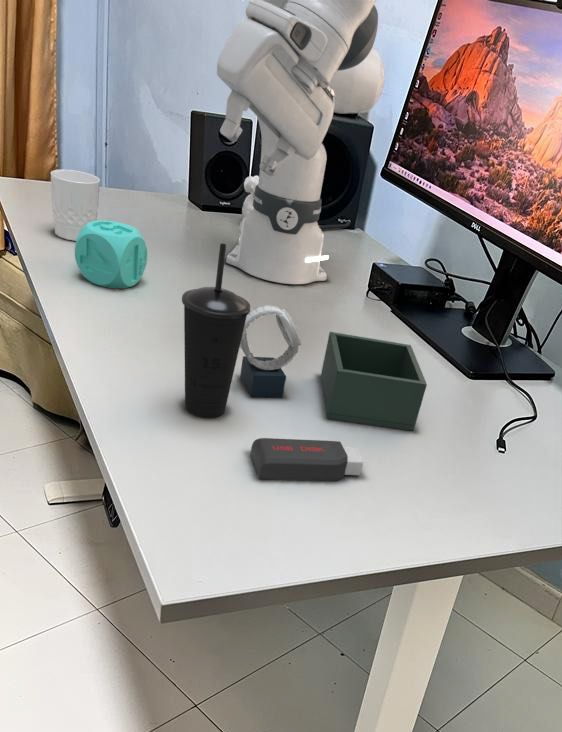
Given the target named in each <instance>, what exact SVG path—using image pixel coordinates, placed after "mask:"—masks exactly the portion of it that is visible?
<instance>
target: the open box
mask: <svg viewBox="0 0 562 732" xmlns="http://www.w3.org/2000/svg"><path fill="white" fill-rule="evenodd" d="M418 361H419V360H418V359H417V357H416V354H415V352H414V349H413V346H412V345H411V344H407V343H401V342H394V341H388V340H383V339H376V338H370V337H364V336H359V335H353V334H347V333H340V332H334V331H329V334H328V339H327V344H326V348H325V353H324V359H323V362H322V363H323V364H322V368H321V373H320V382H321V388H322V394H323V401H324V408H325V414H326V419H327V420H333V421H341V422H348V423H354V424H362V425H368V426H375V427H382V428H390V429H397V430H402V431H403V430H405V431H411V432H414V430H415V427H416V424H417V420H418V417H419V413H420V410H421V406H422V402H423V399H424V396H425V394H426V393H425V392H426V389H427V386H428V384H427V381H426V378H425V376H424V373H423V371H422V369H421V366H420V364H419V362H418Z"/></svg>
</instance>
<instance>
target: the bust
mask: <svg viewBox="0 0 562 732" xmlns="http://www.w3.org/2000/svg"><path fill="white" fill-rule="evenodd" d="M258 182H259V175H254V176H252V175H250V176H247V177H246V178H245V179H244V182H243V189H244V191H245V193H250V194H248V195H247V196H246V197H245V199H244V201H243V205H242V208H241V214H242V215H241V216H242V219H243V218H246V216H247V215H248V214H250V213H251V212H252V210H253V209H254V207H253V199H254V198H253V195H254V192H255V187H256V185H258Z"/></svg>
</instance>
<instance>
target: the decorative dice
mask: <svg viewBox="0 0 562 732" xmlns="http://www.w3.org/2000/svg"><path fill="white" fill-rule="evenodd" d="M74 258H75V262H76V265H77V268H78V269H79V271H80V273H81V274H82V276H83V277H84V278H85V279H86V280H87V281H88V282H89V283H92V284H94V285H96V286H100V287H102V288H103V287H104V288H107V289H108V288H109V289H127V288H131V287H134V286H135V285H136V284H138V282H139V281H140V280H141V279H142V277H143V275H144V274H145V273H144V272H145V271H146V268H147V263H148V246H147V244H146V241H145V239H144V237H143V236H142V234H141V233H140V231H138V229H137V228H135V227H134V226H131V225H129V224H126V223H123V222H119V221H112V220H97V221H92V222H89V223H87V224H86V225H85V226H84V227H83V228H82V229H81V231H80V233H79V235H78V237H77V240H76V241H75V245H74Z"/></svg>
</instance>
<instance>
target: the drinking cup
mask: <svg viewBox="0 0 562 732" xmlns="http://www.w3.org/2000/svg"><path fill="white" fill-rule="evenodd" d="M226 252H227V244H226V243H222V242H221V243H220V244H219V250H218V258H217V260H218V261H217V270H216V277H215V286H203V287H199V288H193V289H189V290H187V291H185V292H184V293H183V294H182V296H181V303H182V304H183V312H184V313H183V316H184V317H183V321H184V322H183V324H184V325H183V327H184V329H183V330H184V336H183V338H184V339H183V340H184V408H185V410H186V411H187V412H188V413H189V414H191V415H194V416H196V417H198V418H199V417H200V418H205V419H208V418H209V419H214V418H215V419H216V418H219V417H221V416H223V415H224V413H225V412H226V408H227V404H228V398H229V394H230V390H231V385H232V381H233V379H234V378H233V377H234V374H235V368H236V364H237V360H238V356H239V351H240V348H241V346H240V343H241V339H242V334H243V330H244V326H245V321H246V317H247V315H248V314H249V313H250V310H252V308H251V307H252V306H251V304H250V302H249V301H248V300H247V299H245V298H243V297H242V296H240V295H238V294H236V293H235V292H234V291H231V290H229V289H225V288H222V287H223V277H224V270H225V262H226V254H227V253H226Z"/></svg>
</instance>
